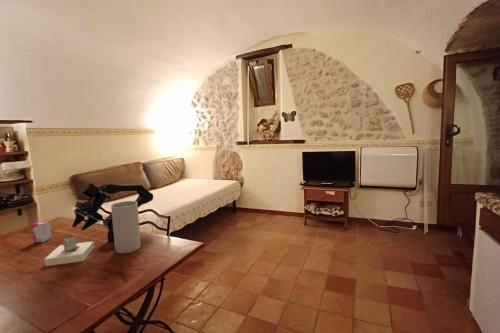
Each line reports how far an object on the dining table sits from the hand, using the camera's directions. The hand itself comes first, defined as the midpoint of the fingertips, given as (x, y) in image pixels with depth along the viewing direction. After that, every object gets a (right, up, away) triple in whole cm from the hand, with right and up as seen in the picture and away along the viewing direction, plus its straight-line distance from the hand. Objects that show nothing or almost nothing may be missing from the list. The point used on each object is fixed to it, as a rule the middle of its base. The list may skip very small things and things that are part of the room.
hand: (77, 228), depth 132 cm
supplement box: (-33, -12, +18) cm, 40 cm away
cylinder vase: (+24, -12, +5) cm, 28 cm away
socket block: (-2, -14, -2) cm, 14 cm away
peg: (-2, -14, -2) cm, 14 cm away
